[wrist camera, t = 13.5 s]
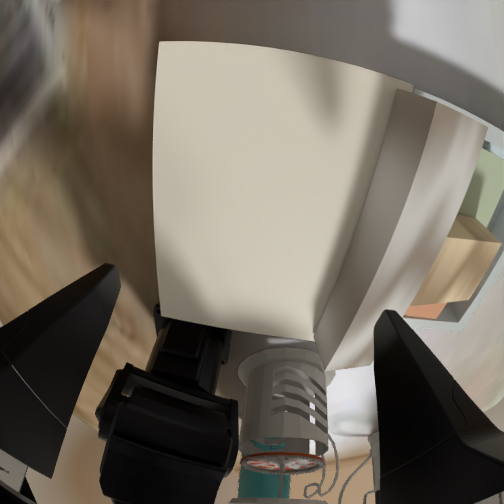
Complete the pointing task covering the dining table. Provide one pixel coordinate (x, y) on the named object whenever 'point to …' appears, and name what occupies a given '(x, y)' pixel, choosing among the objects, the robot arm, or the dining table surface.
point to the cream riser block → (260, 180)
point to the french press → (285, 417)
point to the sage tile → (484, 188)
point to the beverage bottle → (262, 478)
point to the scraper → (409, 230)
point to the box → (499, 225)
